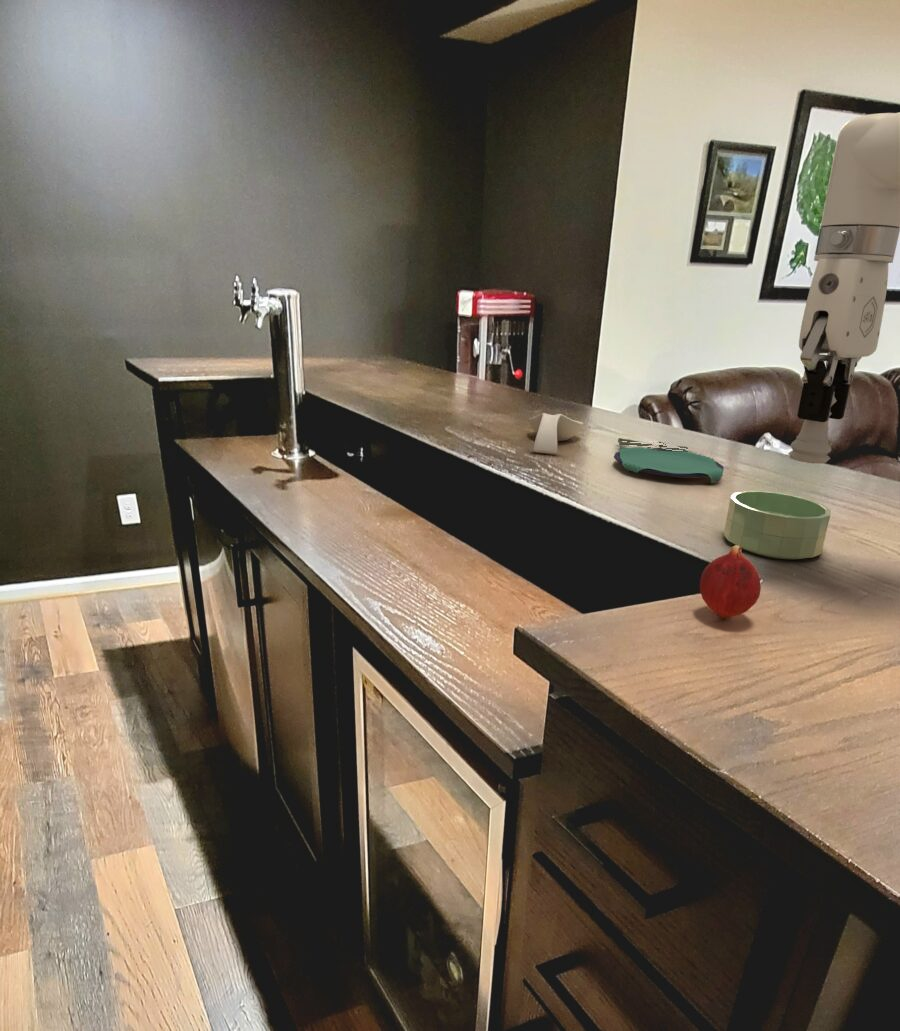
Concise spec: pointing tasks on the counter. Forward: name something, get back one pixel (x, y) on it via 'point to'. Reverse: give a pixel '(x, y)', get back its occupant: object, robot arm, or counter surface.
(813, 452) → the rook chess piece
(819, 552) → the green round tub
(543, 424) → the spoon rest
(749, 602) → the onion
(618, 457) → the cutlery set
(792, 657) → the counter surface
